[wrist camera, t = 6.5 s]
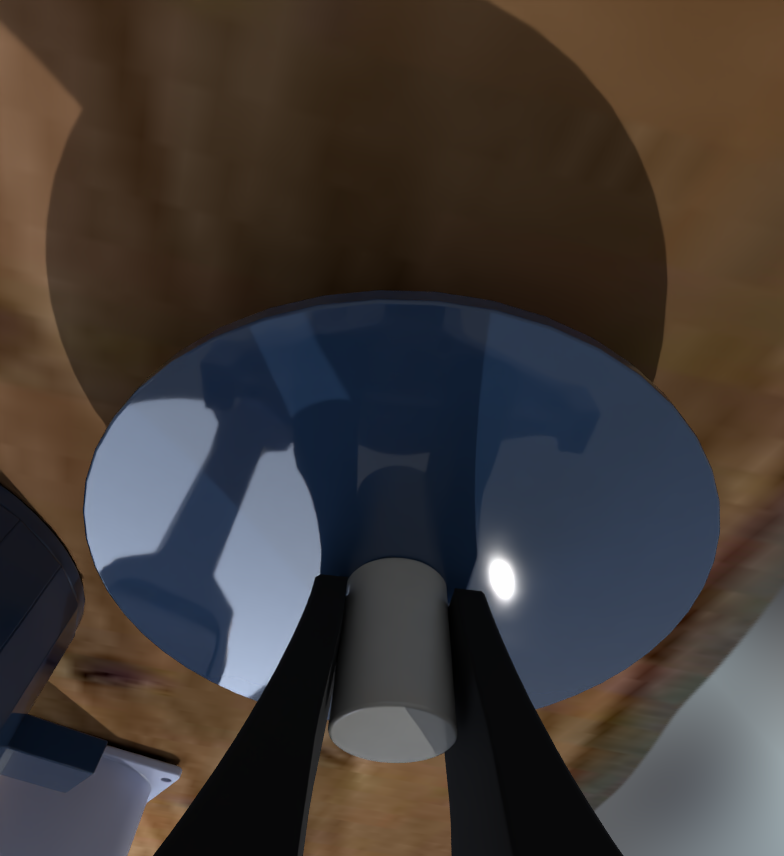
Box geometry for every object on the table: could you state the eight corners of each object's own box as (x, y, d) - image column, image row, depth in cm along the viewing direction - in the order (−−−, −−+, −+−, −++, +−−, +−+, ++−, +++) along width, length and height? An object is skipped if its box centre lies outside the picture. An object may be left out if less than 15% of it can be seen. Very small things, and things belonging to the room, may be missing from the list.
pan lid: (408, 732, 18) (407, 886, 15) (19, 556, 13) (-125, 732, 9) (805, 549, 12) (970, 742, 8) (367, 63, 7) (322, 42, 3)
